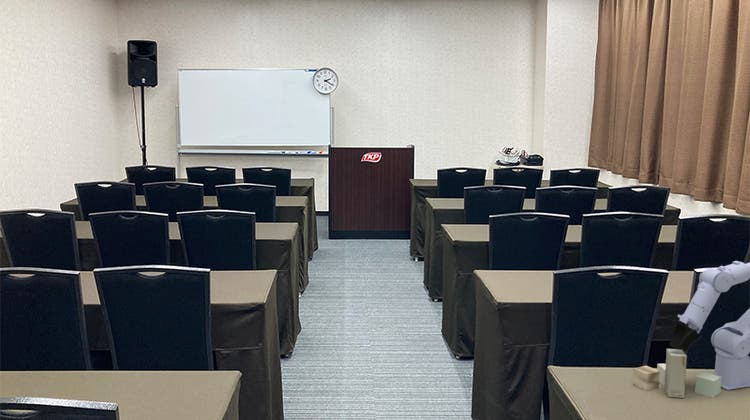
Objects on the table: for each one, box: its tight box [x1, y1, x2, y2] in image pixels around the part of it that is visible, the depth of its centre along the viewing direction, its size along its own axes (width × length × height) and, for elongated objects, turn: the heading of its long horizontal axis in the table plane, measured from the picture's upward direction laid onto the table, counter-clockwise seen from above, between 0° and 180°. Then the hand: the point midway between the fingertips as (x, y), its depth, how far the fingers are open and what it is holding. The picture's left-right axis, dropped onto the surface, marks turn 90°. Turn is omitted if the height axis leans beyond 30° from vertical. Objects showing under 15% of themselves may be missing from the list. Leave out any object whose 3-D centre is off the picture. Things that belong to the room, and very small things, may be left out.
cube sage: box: [694, 371, 722, 399], centre depth 203 cm, size 5×5×5 cm
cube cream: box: [656, 363, 666, 387], centre depth 210 cm, size 5×5×5 cm
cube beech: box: [632, 365, 660, 391], centre depth 208 cm, size 5×5×5 cm
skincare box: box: [663, 348, 688, 399], centre depth 202 cm, size 6×4×12 cm
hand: (676, 349), depth 203 cm, fingers open, 7 cm apart
